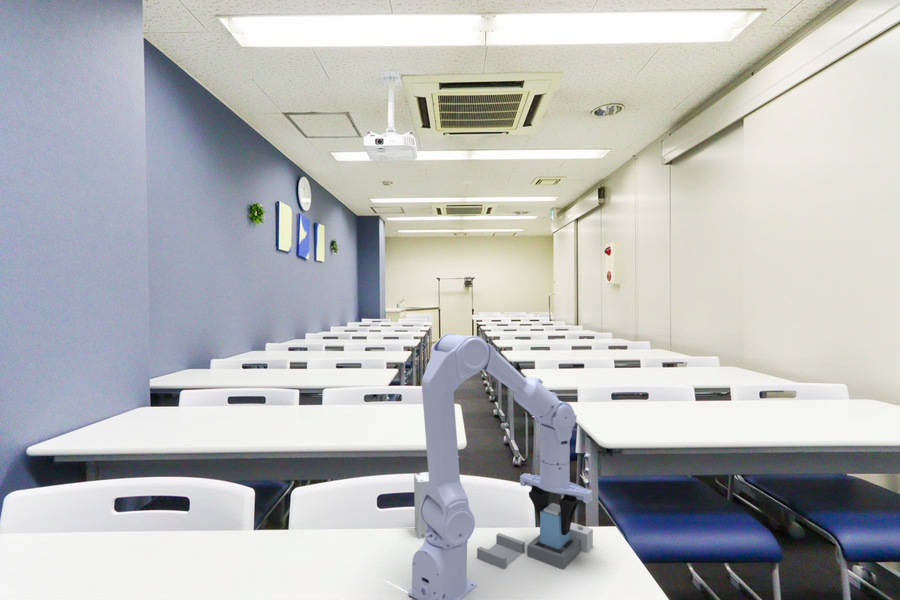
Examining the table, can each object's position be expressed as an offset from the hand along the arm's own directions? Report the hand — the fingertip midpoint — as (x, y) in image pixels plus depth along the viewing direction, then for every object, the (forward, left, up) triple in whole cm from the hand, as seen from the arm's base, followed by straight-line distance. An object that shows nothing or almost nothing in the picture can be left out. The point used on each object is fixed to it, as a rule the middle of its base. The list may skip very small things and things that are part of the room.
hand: (554, 529), depth 91 cm
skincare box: (-9, +26, -5) cm, 28 cm away
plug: (0, 0, -2) cm, 2 cm away
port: (+1, 0, -5) cm, 5 cm away
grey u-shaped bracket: (-7, +8, -5) cm, 12 cm away
